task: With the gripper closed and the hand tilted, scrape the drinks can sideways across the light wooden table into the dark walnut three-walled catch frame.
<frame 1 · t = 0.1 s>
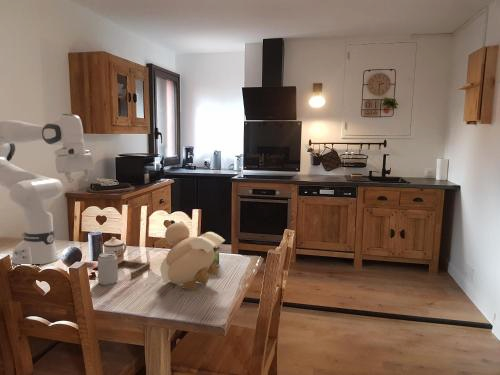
hand: (78, 181, 168), 39 cm above the table, tool pointing down, fingers open, 8 cm apart
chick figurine: (189, 286, 152), on the table
can: (108, 282, 154), on the table
catch frame: (127, 271, 167), on the table
teacup with lid: (116, 260, 182), on the table
coffee can: (208, 265, 178), on the table
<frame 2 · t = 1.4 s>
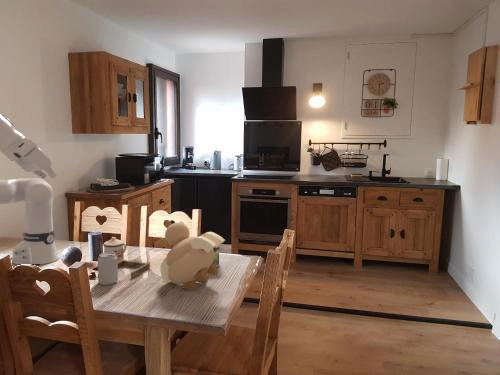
hand: (49, 177, 138), 44 cm above the table, tool tilted 40°, fingers open, 8 cm apart
nothing on the table moved.
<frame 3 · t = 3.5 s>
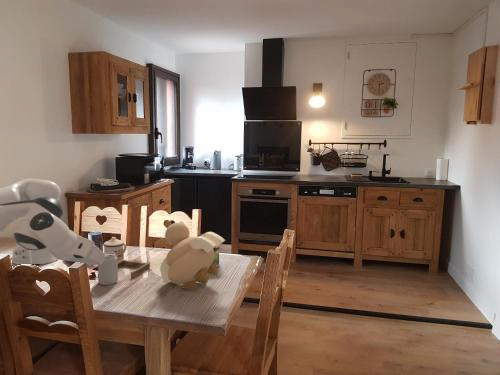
hand: (88, 264, 142), 11 cm above the table, tool tilted 45°, fingers closed
nothing on the table moved.
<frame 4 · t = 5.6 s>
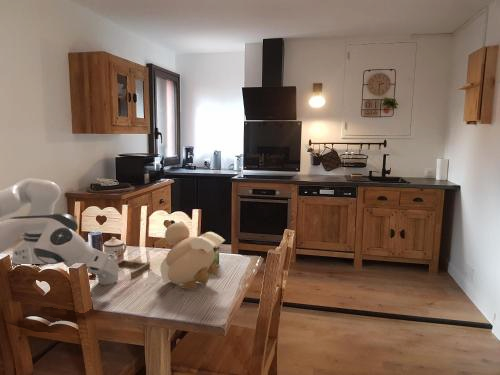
hand: (102, 275, 149), 5 cm above the table, tool tilted 45°, fingers closed
can: (108, 282, 154), on the table, touching gripper
everything else where it was.
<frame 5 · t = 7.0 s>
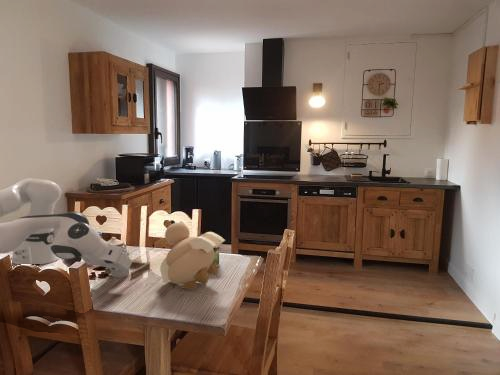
hand: (115, 268, 157), 5 cm above the table, tool tilted 45°, fingers closed
can: (120, 276, 162), on the table, touching gripper
everything else where it was.
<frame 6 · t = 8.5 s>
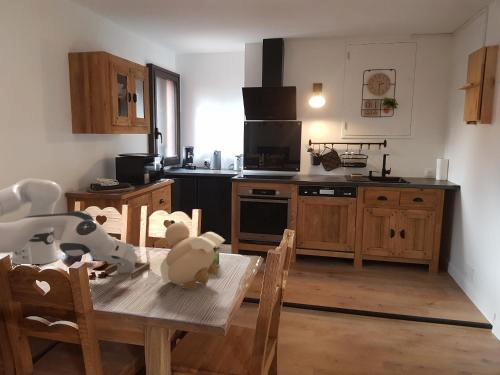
hand: (121, 264, 162), 5 cm above the table, tool tilted 45°, fingers closed, pressing on can
can: (126, 271, 167), on the table, touching gripper
everything else where it was.
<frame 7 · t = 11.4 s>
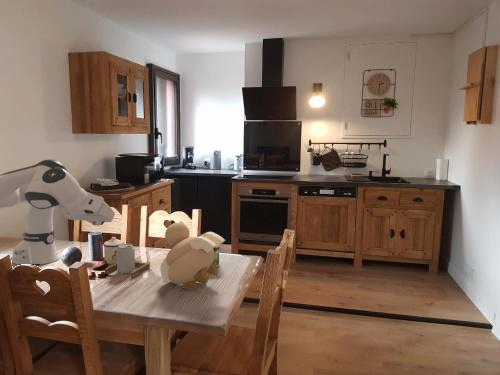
hand: (97, 224, 146), 26 cm above the table, tool tilted 45°, fingers closed
can: (126, 272, 167), on the table
everything else where it was.
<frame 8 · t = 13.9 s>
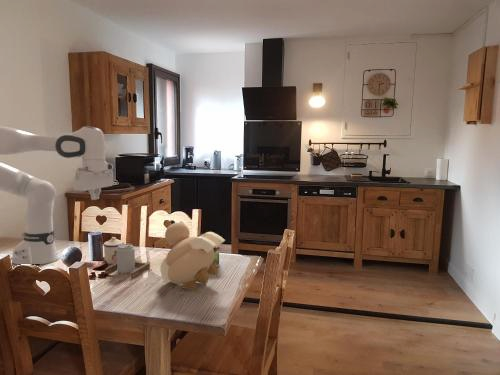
hand: (95, 199, 157), 33 cm above the table, tool pointing down, fingers closed
nothing on the table moved.
at the end: can inside the target area (0.8 cm from its centre), on the table; can tilted 0°; can moved 13.2 cm from its start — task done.
